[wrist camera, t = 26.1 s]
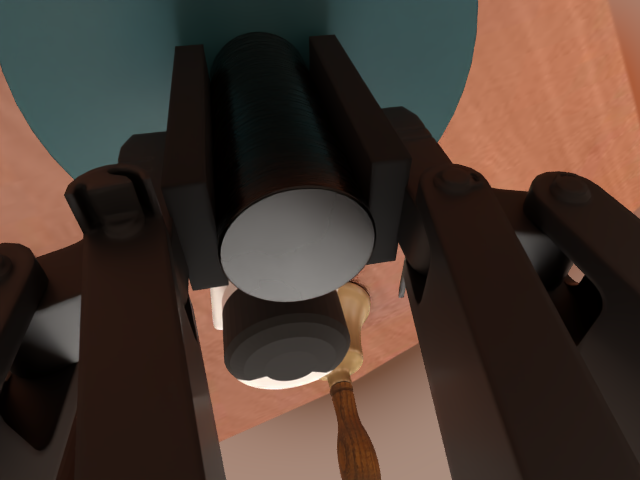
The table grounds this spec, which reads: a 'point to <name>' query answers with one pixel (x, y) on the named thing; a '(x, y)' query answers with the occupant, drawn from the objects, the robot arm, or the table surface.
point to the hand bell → (352, 437)
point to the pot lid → (241, 109)
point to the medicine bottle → (279, 337)
